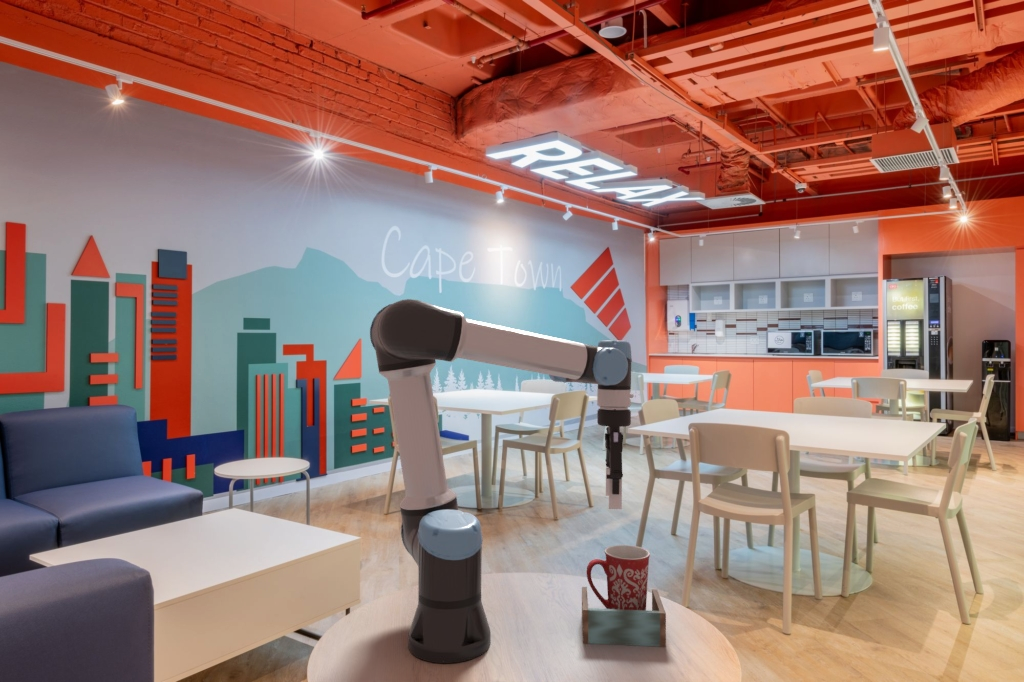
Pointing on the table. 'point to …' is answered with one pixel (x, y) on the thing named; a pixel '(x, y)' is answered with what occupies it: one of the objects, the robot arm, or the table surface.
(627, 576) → the mug
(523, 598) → the table surface
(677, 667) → the table surface
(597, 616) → the dock
